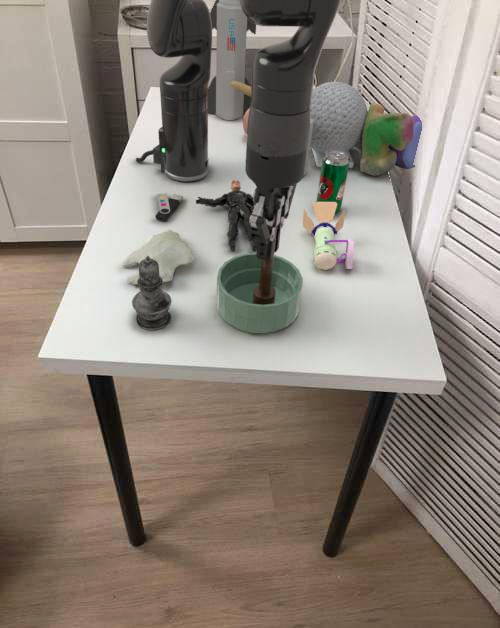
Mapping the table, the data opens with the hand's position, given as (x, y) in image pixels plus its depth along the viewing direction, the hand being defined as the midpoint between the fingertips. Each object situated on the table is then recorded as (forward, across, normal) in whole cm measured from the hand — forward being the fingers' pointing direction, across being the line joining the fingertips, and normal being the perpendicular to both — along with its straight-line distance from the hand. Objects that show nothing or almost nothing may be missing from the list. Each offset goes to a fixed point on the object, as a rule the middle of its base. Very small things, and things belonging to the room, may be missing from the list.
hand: (267, 253), depth 80 cm
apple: (+12, -56, -25) cm, 62 cm away
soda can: (+12, -34, 0) cm, 36 cm away
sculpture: (+5, -55, 0) cm, 56 cm away
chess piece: (+12, +9, -14) cm, 21 cm away
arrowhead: (+12, -4, -21) cm, 24 cm away
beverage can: (+12, -45, -12) cm, 48 cm away
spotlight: (+12, -20, +4) cm, 24 cm away
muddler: (+10, 0, 0) cm, 10 cm away
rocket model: (+12, -65, -37) cm, 76 cm away
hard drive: (+12, -57, -7) cm, 59 cm away
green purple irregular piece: (+7, -61, +12) cm, 63 cm away
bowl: (+12, -1, -1) cm, 12 cm away
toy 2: (+7, -71, -27) cm, 77 cm away
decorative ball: (+5, -51, -2) cm, 52 cm away
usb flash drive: (+12, -19, -29) cm, 37 cm away
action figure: (+12, -22, -14) cm, 29 cm away
